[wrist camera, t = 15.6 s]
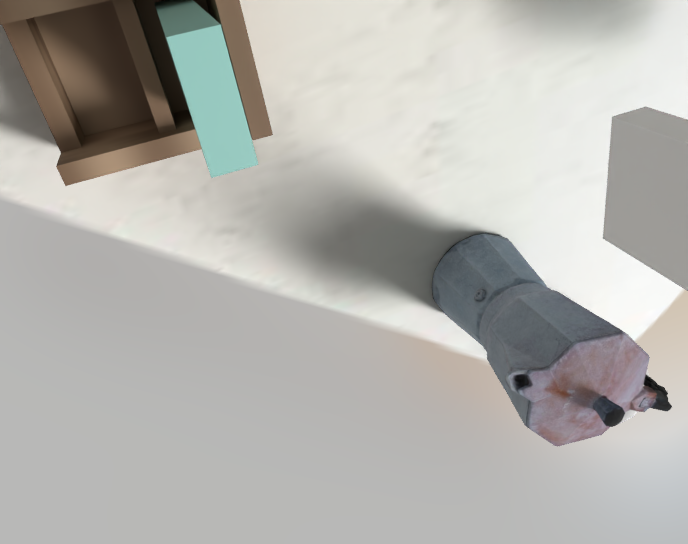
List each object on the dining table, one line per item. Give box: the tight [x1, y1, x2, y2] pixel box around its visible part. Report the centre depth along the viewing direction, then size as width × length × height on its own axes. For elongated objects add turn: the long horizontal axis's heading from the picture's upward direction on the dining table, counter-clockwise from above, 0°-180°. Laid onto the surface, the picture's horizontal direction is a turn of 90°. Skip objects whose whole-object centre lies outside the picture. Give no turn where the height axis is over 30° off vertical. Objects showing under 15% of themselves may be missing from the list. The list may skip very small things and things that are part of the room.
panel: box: [154, 0, 258, 178], centre depth 29 cm, size 2×6×16 cm, turn 11°
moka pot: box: [432, 233, 672, 446], centre depth 45 cm, size 10×15×20 cm, turn 74°
